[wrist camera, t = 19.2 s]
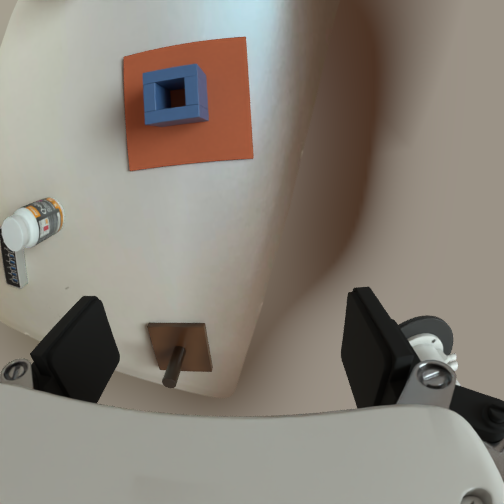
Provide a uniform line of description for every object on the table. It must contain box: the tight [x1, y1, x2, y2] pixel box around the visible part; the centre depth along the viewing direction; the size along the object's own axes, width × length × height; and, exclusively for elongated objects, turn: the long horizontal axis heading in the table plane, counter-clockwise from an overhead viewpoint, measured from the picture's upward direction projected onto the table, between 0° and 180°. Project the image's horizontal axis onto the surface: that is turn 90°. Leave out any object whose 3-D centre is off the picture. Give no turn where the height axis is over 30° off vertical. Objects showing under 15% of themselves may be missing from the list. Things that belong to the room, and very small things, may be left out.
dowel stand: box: [147, 323, 213, 388], centre depth 41 cm, size 9×9×9 cm
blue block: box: [143, 64, 209, 127], centre depth 30 cm, size 6×6×6 cm
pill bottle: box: [2, 197, 65, 252], centre depth 34 cm, size 6×6×10 cm
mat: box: [124, 37, 253, 171], centre depth 33 cm, size 16×16×1 cm
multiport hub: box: [0, 226, 28, 289], centre depth 40 cm, size 4×11×2 cm, turn 170°
